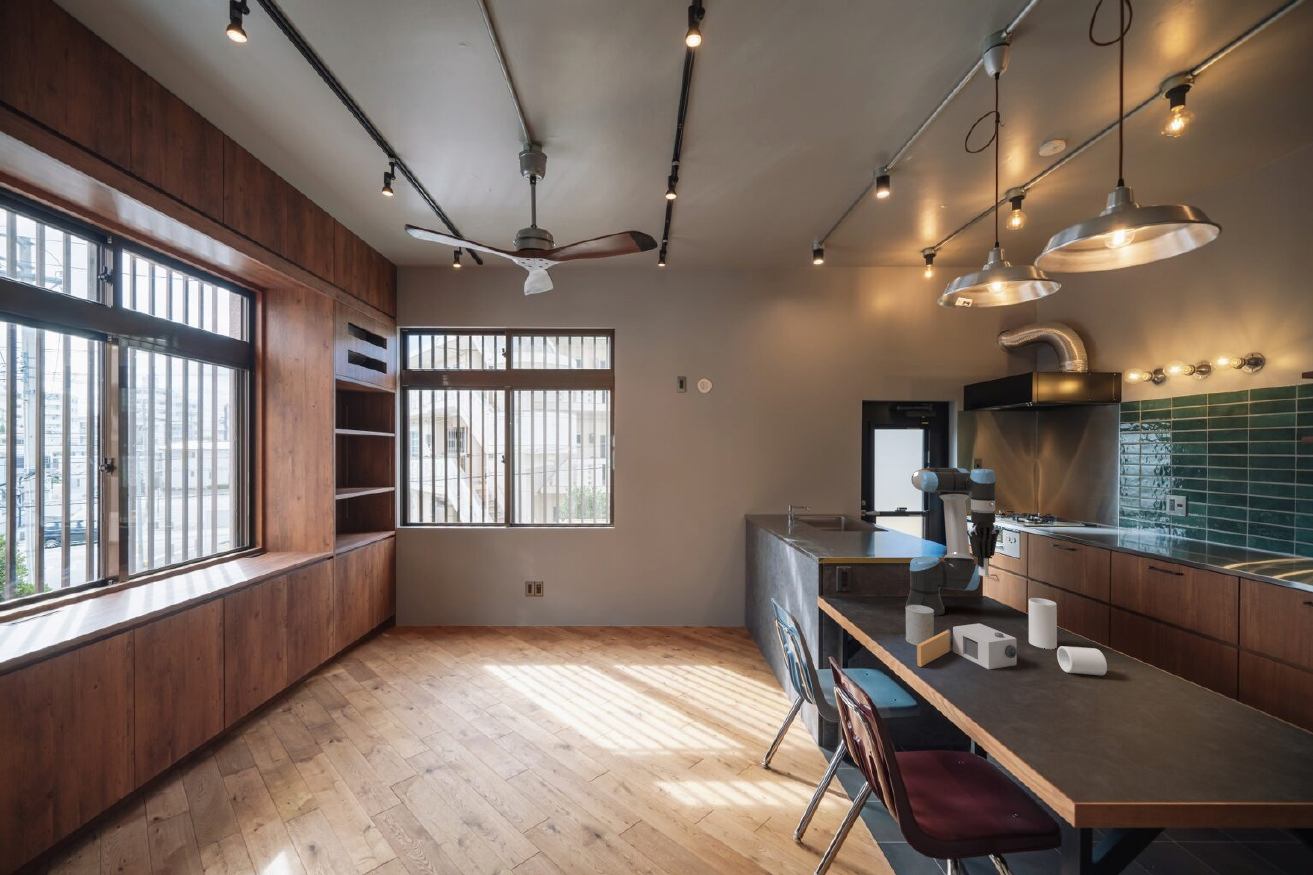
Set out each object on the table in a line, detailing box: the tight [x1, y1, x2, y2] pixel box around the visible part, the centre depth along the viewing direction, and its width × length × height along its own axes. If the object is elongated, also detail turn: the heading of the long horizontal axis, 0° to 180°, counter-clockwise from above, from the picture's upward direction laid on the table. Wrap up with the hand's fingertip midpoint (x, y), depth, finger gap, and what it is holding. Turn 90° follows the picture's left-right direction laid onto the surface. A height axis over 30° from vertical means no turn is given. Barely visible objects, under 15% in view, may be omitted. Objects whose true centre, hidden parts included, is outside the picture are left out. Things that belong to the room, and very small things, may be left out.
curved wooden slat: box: [916, 628, 952, 667], centre depth 172 cm, size 22×2×7 cm, turn 126°
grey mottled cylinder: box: [905, 605, 935, 646], centre depth 187 cm, size 10×10×12 cm
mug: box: [1056, 645, 1108, 676], centre depth 163 cm, size 12×10×8 cm
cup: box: [1028, 597, 1058, 650], centre depth 183 cm, size 8×8×16 cm
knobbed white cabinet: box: [952, 622, 1017, 670], centre depth 172 cm, size 15×12×10 cm
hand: (983, 575), depth 181 cm, fingers closed
